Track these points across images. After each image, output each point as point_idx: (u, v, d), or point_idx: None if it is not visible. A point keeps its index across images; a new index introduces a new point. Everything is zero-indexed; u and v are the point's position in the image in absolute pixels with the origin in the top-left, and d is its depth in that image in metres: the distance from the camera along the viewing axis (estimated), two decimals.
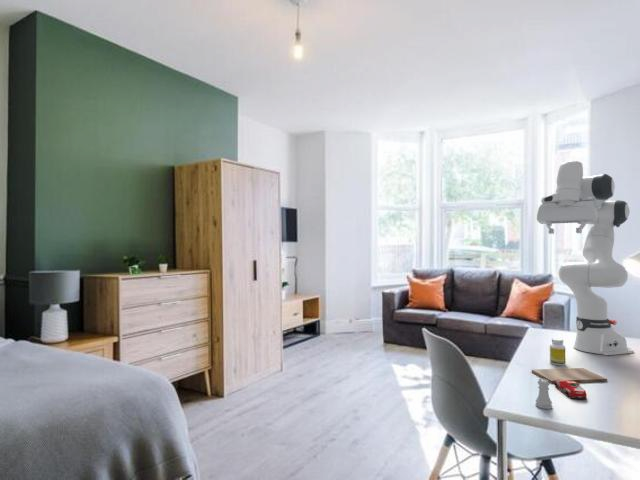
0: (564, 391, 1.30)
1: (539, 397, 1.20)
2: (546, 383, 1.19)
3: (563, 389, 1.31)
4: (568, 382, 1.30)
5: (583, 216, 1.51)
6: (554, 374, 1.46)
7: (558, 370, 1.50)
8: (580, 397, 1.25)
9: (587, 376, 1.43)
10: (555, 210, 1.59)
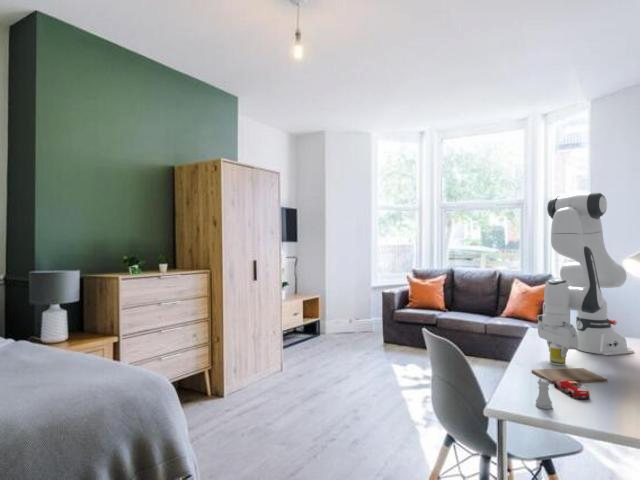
0: (566, 391, 1.30)
1: (539, 397, 1.20)
2: (546, 383, 1.19)
3: (565, 389, 1.31)
4: (570, 382, 1.30)
5: (563, 343, 1.55)
6: (554, 374, 1.46)
7: (558, 370, 1.50)
8: (584, 396, 1.25)
9: (587, 376, 1.43)
10: (548, 330, 1.65)
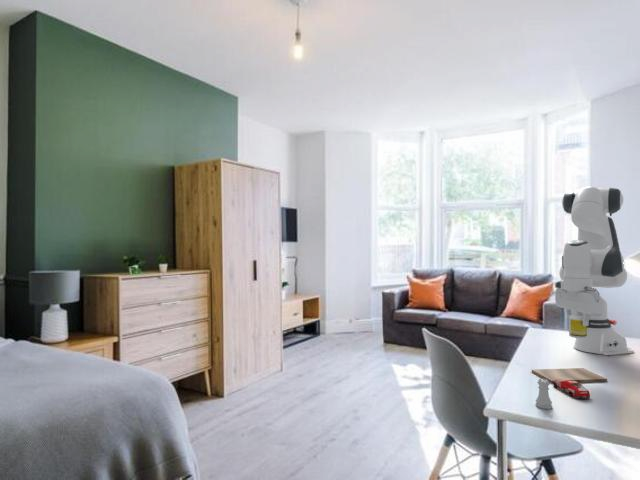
0: (566, 391, 1.30)
1: (539, 397, 1.20)
2: (546, 383, 1.19)
3: (565, 389, 1.30)
4: (570, 382, 1.30)
5: (585, 310, 1.40)
6: (554, 374, 1.46)
7: (558, 370, 1.50)
8: (584, 396, 1.25)
9: (587, 376, 1.43)
10: (567, 297, 1.50)
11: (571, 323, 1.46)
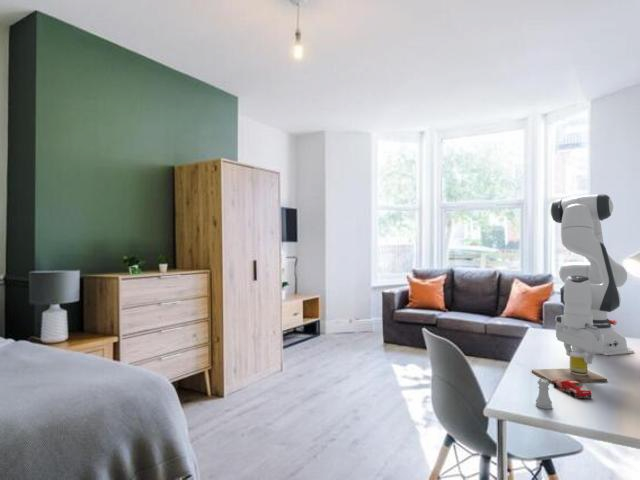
0: (567, 391, 1.30)
1: (539, 397, 1.20)
2: (546, 383, 1.19)
3: (566, 389, 1.30)
4: (571, 382, 1.30)
5: (586, 347, 1.40)
6: (554, 374, 1.46)
7: (558, 370, 1.50)
8: (586, 396, 1.25)
9: (587, 376, 1.43)
10: (567, 332, 1.50)
11: (572, 360, 1.46)
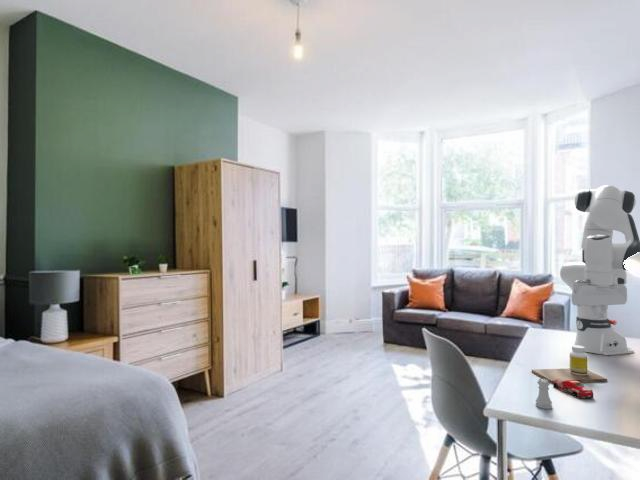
0: (569, 391, 1.30)
1: (539, 397, 1.20)
2: (546, 383, 1.19)
3: (568, 389, 1.30)
4: (572, 382, 1.30)
5: None
6: (554, 374, 1.46)
7: (558, 370, 1.50)
8: (589, 396, 1.25)
9: (587, 376, 1.43)
10: None
11: (572, 360, 1.46)
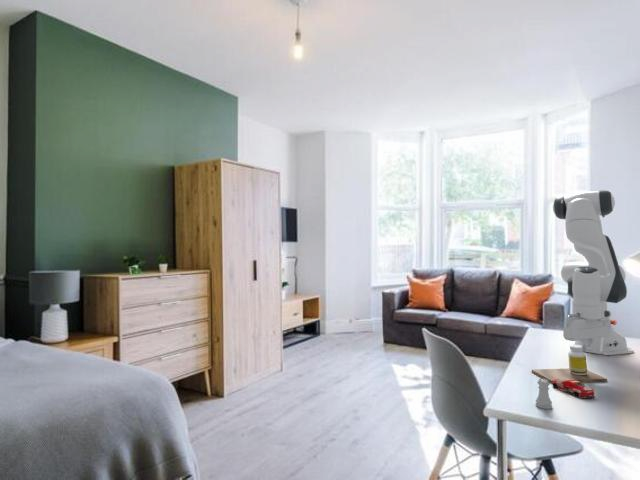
0: (570, 391, 1.30)
1: (539, 397, 1.20)
2: (546, 383, 1.19)
3: (569, 390, 1.30)
4: (573, 382, 1.30)
5: None
6: (554, 374, 1.46)
7: (558, 370, 1.50)
8: (590, 396, 1.26)
9: (587, 376, 1.43)
10: None
11: (571, 360, 1.46)
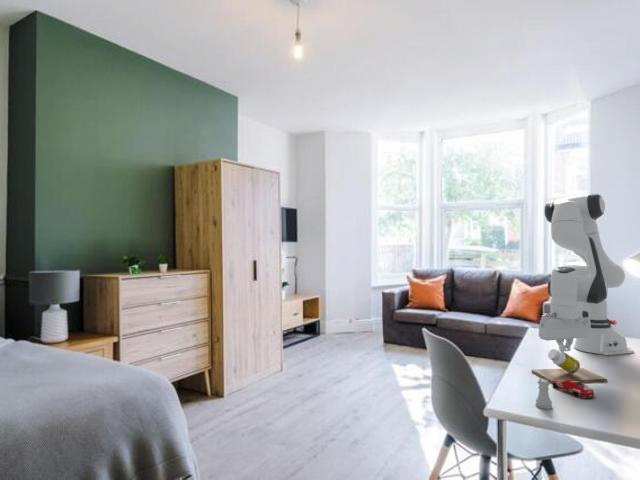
0: (569, 391, 1.30)
1: (539, 397, 1.20)
2: (546, 383, 1.19)
3: (569, 390, 1.30)
4: (573, 382, 1.30)
5: None
6: (554, 374, 1.46)
7: (558, 370, 1.50)
8: (590, 396, 1.26)
9: (587, 376, 1.43)
10: None
11: None
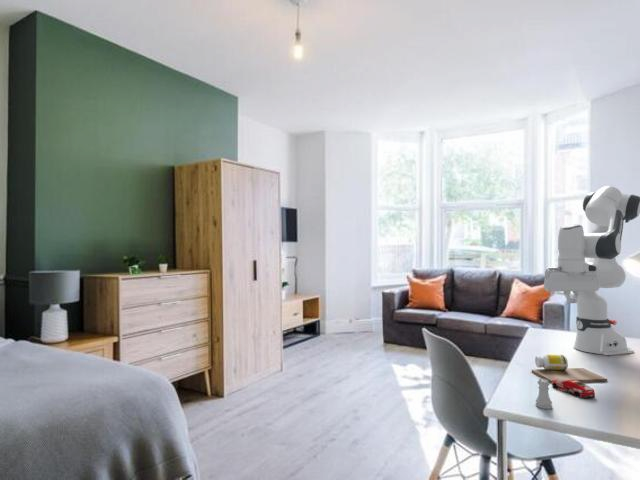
0: (570, 391, 1.30)
1: (539, 397, 1.20)
2: (546, 383, 1.19)
3: (569, 389, 1.30)
4: (573, 382, 1.30)
5: None
6: (554, 374, 1.46)
7: (558, 370, 1.50)
8: (591, 395, 1.26)
9: (587, 376, 1.43)
10: None
11: (553, 362, 1.49)
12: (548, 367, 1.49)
